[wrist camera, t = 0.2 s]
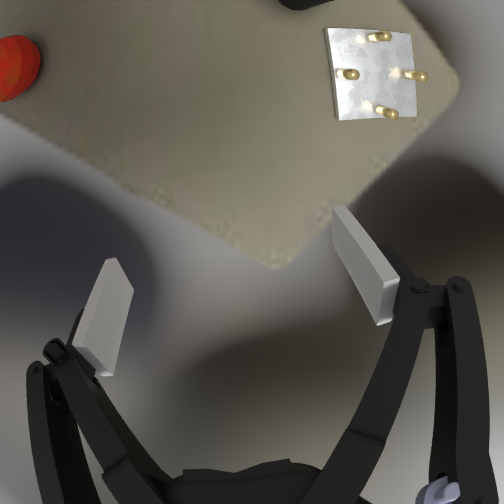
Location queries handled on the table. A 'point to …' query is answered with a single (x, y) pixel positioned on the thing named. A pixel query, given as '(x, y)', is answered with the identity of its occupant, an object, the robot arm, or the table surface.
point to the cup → (302, 3)
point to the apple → (17, 65)
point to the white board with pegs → (372, 73)
